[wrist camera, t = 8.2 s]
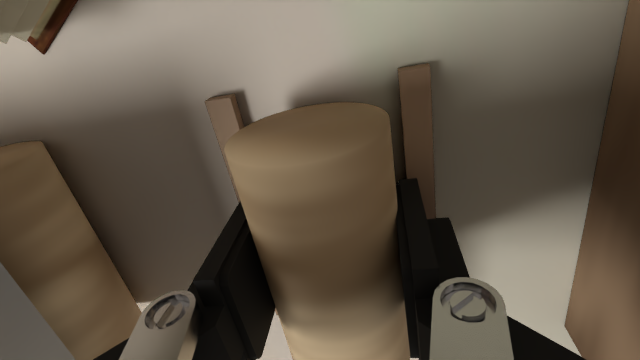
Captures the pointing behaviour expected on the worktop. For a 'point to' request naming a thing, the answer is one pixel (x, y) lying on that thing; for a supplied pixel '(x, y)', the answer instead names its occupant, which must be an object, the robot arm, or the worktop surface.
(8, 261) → the bed rollers
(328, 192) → the roller
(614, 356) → the stop block
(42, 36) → the book
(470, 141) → the worktop surface
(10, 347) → the slab
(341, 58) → the worktop surface
